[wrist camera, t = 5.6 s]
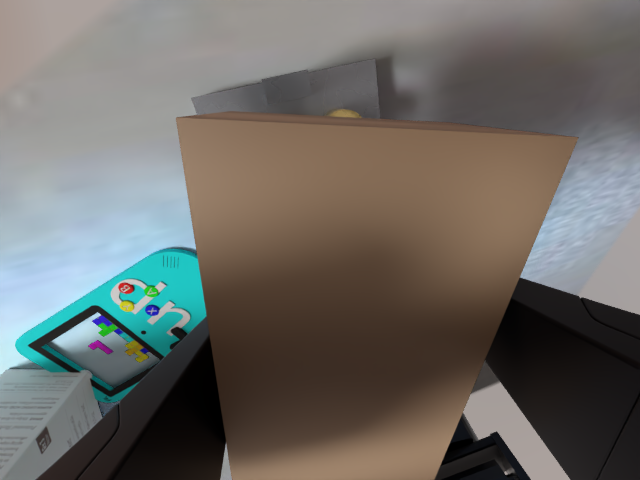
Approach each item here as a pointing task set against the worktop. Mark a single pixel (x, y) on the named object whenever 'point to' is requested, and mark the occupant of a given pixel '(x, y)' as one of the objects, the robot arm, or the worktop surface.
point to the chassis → (304, 94)
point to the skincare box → (42, 418)
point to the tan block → (356, 280)
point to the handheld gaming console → (128, 316)
